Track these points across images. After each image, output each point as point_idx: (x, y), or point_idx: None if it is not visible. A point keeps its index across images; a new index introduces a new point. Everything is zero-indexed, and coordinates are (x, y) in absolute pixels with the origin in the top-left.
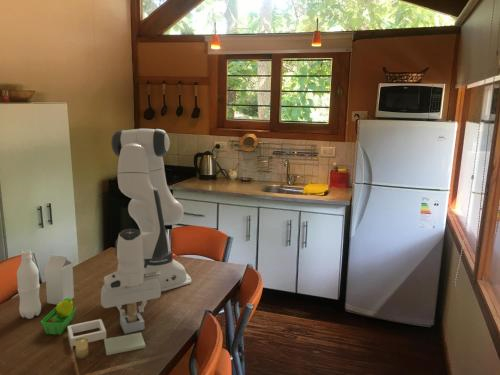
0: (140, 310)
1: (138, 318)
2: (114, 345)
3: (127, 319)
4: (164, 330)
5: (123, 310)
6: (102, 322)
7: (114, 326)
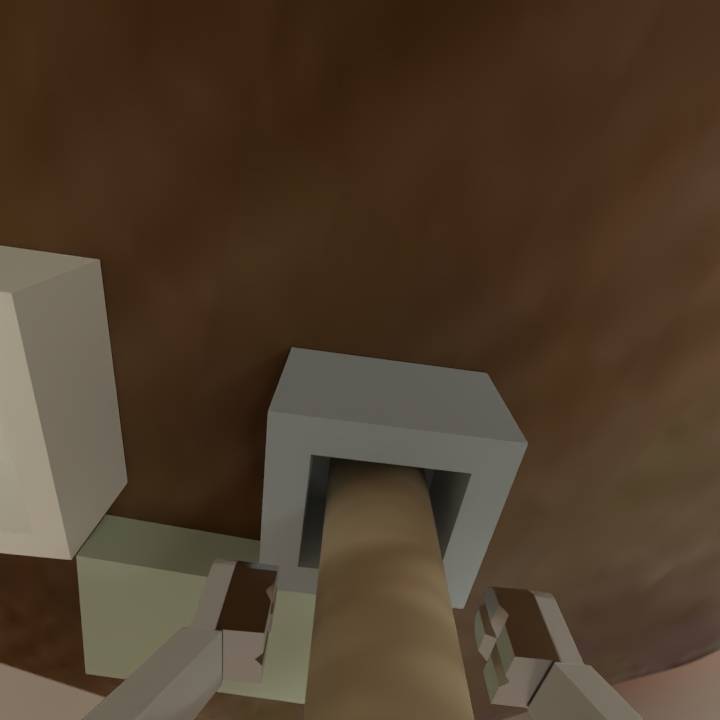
0: (490, 663)
1: (450, 525)
2: (148, 643)
3: (325, 515)
4: (573, 565)
5: (244, 656)
6: (31, 395)
7: (240, 299)
